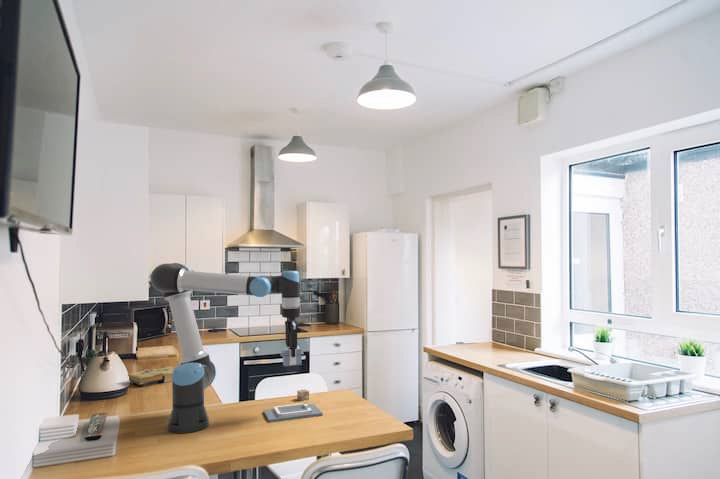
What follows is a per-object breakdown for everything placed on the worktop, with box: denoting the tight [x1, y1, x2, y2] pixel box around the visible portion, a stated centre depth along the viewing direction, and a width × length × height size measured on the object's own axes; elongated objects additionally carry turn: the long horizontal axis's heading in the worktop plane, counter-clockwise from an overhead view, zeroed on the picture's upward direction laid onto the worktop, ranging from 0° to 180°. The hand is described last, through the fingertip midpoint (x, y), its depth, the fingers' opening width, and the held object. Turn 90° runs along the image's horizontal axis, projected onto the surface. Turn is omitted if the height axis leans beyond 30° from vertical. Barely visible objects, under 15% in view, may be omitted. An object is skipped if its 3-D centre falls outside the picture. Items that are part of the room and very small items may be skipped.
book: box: [127, 365, 176, 388], centre depth 266 cm, size 25×17×6 cm
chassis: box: [262, 402, 324, 423], centre depth 206 cm, size 22×14×2 cm, turn 110°
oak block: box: [296, 389, 310, 402], centre depth 227 cm, size 4×4×4 cm
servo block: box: [279, 345, 305, 367], centre depth 207 cm, size 9×4×7 cm, turn 110°
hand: (291, 363), depth 207 cm, fingers closed on servo block, 4 cm apart
